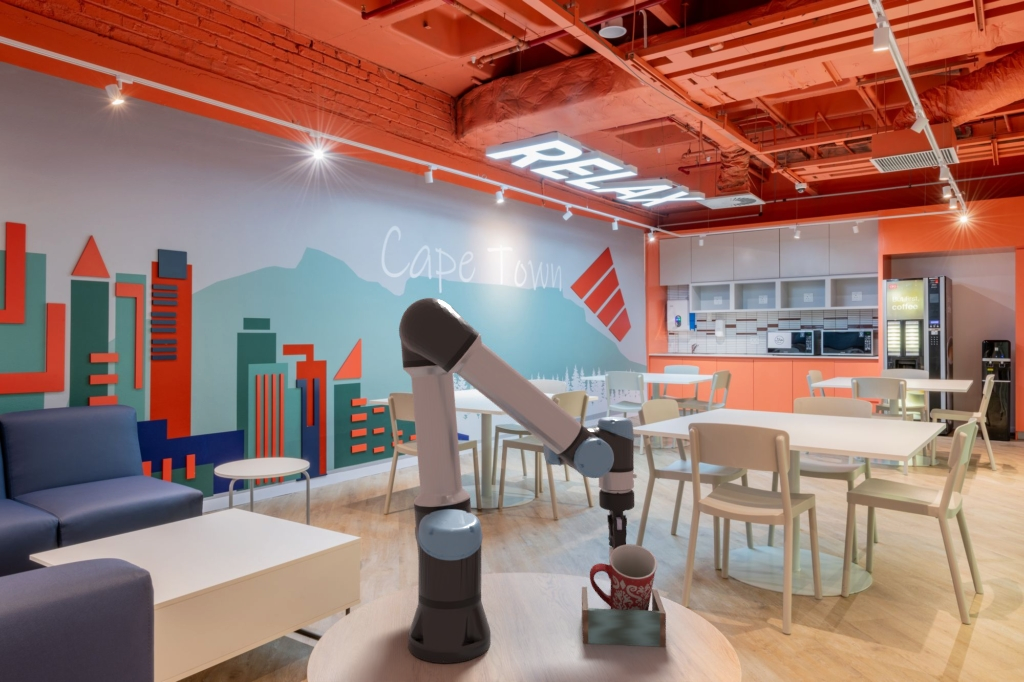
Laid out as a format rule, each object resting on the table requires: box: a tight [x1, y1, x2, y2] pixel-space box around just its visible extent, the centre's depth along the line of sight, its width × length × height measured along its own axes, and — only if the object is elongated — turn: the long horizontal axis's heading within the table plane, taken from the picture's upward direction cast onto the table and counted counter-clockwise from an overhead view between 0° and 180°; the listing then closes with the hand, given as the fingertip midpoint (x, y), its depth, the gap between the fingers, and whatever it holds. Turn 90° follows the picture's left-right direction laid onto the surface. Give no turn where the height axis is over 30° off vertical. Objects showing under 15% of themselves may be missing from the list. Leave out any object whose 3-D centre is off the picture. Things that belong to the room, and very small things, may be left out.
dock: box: [581, 586, 667, 648], centre depth 123 cm, size 15×12×6 cm
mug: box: [589, 543, 658, 611], centre depth 126 cm, size 13×9×14 cm
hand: (618, 588), depth 139 cm, fingers open, 13 cm apart
